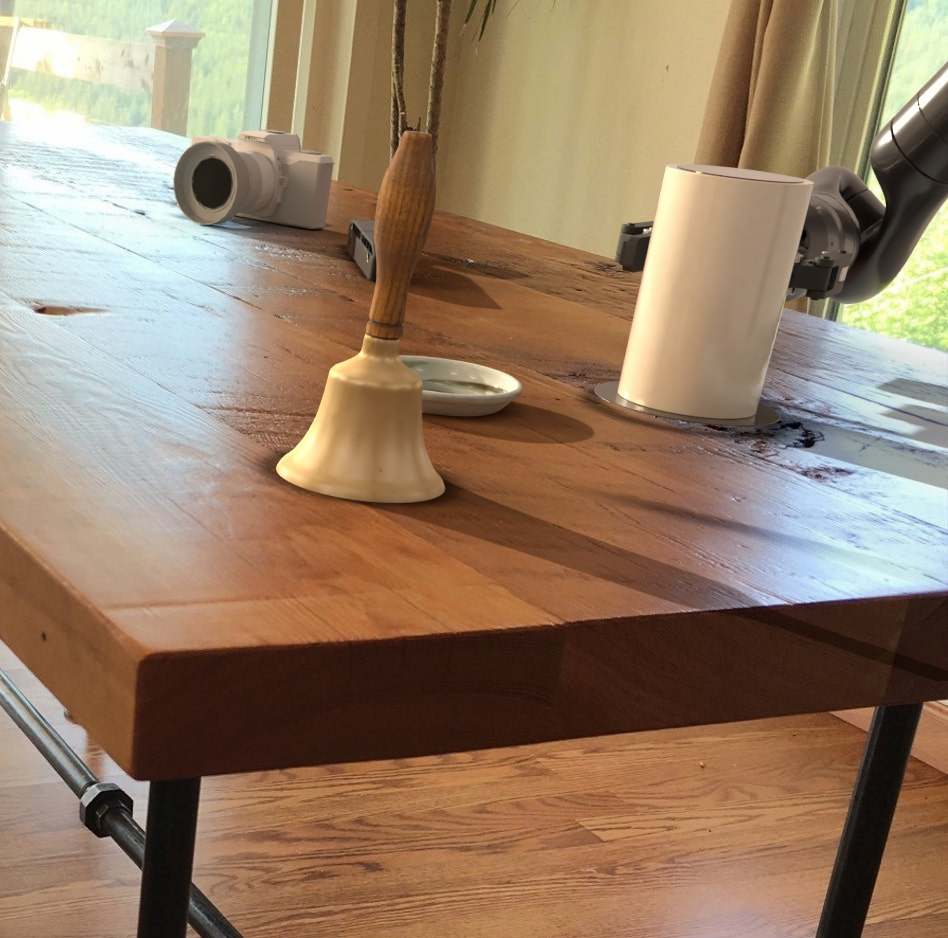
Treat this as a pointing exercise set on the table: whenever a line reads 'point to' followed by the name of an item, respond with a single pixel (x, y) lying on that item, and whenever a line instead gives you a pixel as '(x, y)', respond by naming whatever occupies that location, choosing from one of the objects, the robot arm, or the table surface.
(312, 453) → the hand bell
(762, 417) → the disc
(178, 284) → the table surface
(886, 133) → the robot arm
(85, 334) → the table surface
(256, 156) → the digital camera
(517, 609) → the table surface
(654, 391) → the tall white cylinder
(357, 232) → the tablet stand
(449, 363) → the saucer
